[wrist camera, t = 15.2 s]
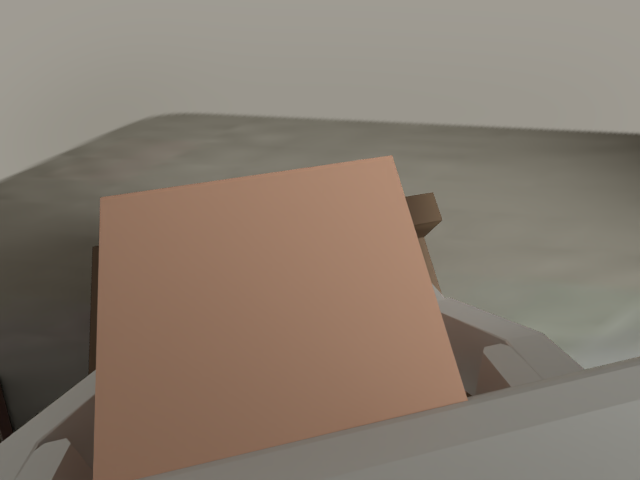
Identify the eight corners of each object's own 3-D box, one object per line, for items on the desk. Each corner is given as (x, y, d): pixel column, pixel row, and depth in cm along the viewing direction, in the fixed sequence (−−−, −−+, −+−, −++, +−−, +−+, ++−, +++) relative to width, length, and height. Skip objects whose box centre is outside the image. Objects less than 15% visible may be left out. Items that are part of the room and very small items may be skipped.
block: (337, 275, 15) (392, 155, 6) (361, 387, 14) (492, 477, 4) (231, 294, 15) (100, 197, 5) (244, 413, 13) (90, 584, 4)
